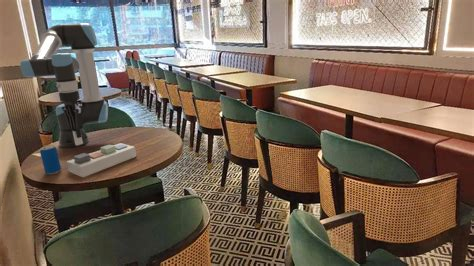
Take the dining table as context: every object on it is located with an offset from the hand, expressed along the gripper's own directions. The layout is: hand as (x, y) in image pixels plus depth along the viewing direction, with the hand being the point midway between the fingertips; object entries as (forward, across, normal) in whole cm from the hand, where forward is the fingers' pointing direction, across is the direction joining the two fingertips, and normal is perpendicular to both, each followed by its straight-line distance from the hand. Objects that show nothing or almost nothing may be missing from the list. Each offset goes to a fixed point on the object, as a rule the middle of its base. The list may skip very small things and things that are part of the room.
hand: (79, 144), depth 145 cm
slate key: (+10, 0, +20) cm, 22 cm away
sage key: (+8, 0, +13) cm, 16 cm away
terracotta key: (+10, 0, +7) cm, 12 cm away
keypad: (+13, 0, +10) cm, 16 cm away
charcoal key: (+8, 0, 0) cm, 8 cm away
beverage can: (+13, -12, -8) cm, 20 cm away
